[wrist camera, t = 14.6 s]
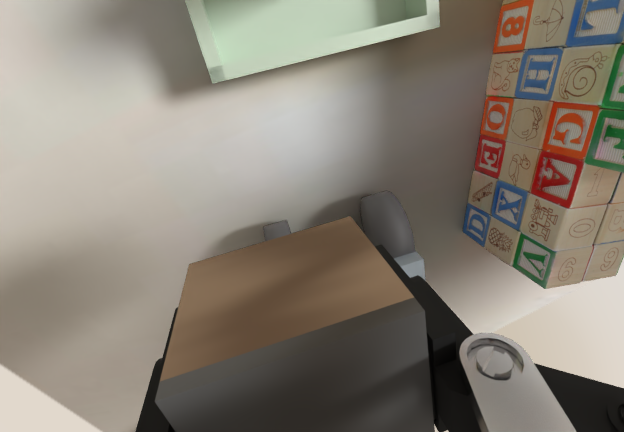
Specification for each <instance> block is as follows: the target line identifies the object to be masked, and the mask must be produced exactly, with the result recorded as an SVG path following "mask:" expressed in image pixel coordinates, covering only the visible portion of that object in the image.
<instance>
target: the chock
mask: <svg viewBox="0 0 624 432" xmlns="http://www.w3.org/2000/svg"><path fill="white" fill-rule="evenodd" d="M155 403H156V404H157V406H158V407H159V409H160V410H161V411H162V413H163V414H164V416H165V417H166V419H167V420H168V422H169V423H170V424H171V426H172V427H173V429H174V430H175V432H435V430H434V418H433V405H432V393H431V380H430V368H429V356H428V343H427V331H426V319H425V310H424V309H423V308H422V306H421V305H420V304H419V303H418V301H417V300H416V299H415V298H414V296H413V295H412V294H411V292H410V291H409V290H408V289H407V287H406V286H405V285H404V284H403V282H402V281H401V280H400V278H399V277H398V276H397V275H396V273H395V272H394V271H393V270H392V268H391V267H390V266H389V264H388V263H387V262H386V261H385V259H384V258H383V257H382V256H381V254H380V253H379V252H378V250H377V249H376V248H375V247H374V245H373V244H372V243H371V242H370V240H369V239H368V238H367V236H366V235H365V234H364V233H363V231H362V230H361V229H360V228H359V226H358V225H357V224H356V222H355V221H354V220H353V219H352V217H351V216H349V217H345V218H342V219H339V220H335V221H332V222H329V223H325V224H322V225H319V226H315V227H312V228H309V229H305V230H302V231H299V232H295V233H292V234H289V235H285V236H282V237H279V238H275V239H272V240H268V241H265V242H262V243H258V244H255V245H252V246H248V247H245V248H242V249H238V250H235V251H232V252H228V253H225V254H222V255H218V256H215V257H212V258H208V259H205V260H202V261H198V262H195V263H192V264H189V267H188V271H187V275H186V279H185V283H184V287H183V291H182V295H181V299H180V303H179V307H178V311H177V315H176V319H175V323H174V327H173V331H172V335H171V339H170V343H169V347H168V351H167V355H166V359H165V363H164V367H163V370H162V374H161V378H160V382H159V386H158V390H157V394H156V398H155Z"/></svg>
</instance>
